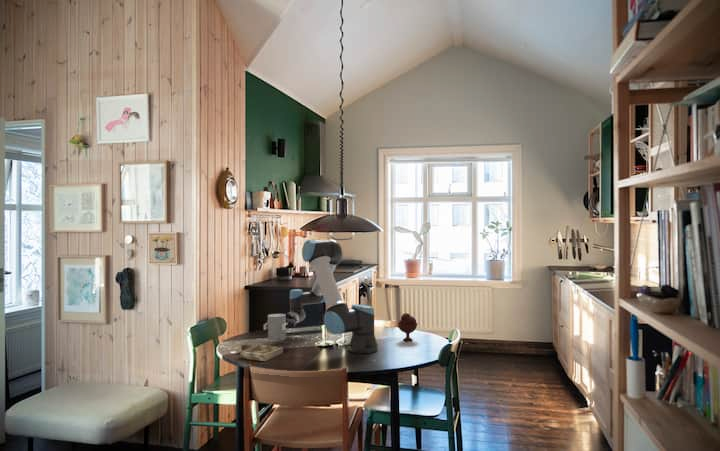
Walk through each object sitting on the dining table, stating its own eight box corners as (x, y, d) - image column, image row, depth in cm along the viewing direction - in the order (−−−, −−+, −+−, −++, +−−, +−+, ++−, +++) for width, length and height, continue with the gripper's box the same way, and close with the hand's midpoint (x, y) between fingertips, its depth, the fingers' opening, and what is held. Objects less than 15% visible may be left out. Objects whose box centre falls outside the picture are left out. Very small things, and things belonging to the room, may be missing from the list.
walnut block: (251, 350, 253) (251, 343, 253) (248, 352, 249) (248, 345, 249) (243, 350, 253) (243, 343, 253) (241, 352, 249) (241, 345, 249)
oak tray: (282, 353, 247) (282, 347, 247) (265, 361, 233) (265, 355, 233) (258, 350, 253) (258, 344, 253) (240, 357, 240) (240, 351, 240)
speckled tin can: (282, 340, 252) (281, 316, 252) (265, 340, 254) (264, 316, 254) (288, 336, 261) (288, 313, 261) (272, 336, 263) (271, 313, 263)
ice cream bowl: (396, 342, 266) (396, 315, 266) (400, 337, 277) (399, 311, 277) (416, 343, 263) (415, 315, 263) (418, 338, 274) (418, 312, 274)
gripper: (308, 326, 272) (293, 335, 250) (272, 325, 278) (254, 334, 256) (308, 313, 272) (292, 321, 250) (272, 312, 278) (253, 319, 256)
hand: (273, 327), depth 253 cm, fingers closed on speckled tin can, 9 cm apart
